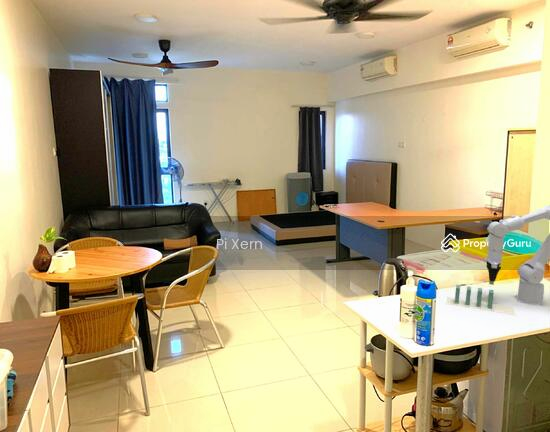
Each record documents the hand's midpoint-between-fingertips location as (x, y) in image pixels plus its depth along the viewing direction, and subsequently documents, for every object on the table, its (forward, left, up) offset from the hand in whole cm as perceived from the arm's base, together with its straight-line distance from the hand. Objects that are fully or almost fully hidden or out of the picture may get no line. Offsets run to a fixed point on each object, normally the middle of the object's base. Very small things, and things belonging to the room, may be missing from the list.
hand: (491, 279), depth 184 cm
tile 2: (0, +10, -9) cm, 14 cm away
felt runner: (+4, +10, -9) cm, 15 cm away
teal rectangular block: (+5, +10, -9) cm, 14 cm away
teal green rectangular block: (0, 0, -2) cm, 2 cm away
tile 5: (+13, +10, -9) cm, 19 cm away
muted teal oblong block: (+9, +10, -9) cm, 16 cm away
